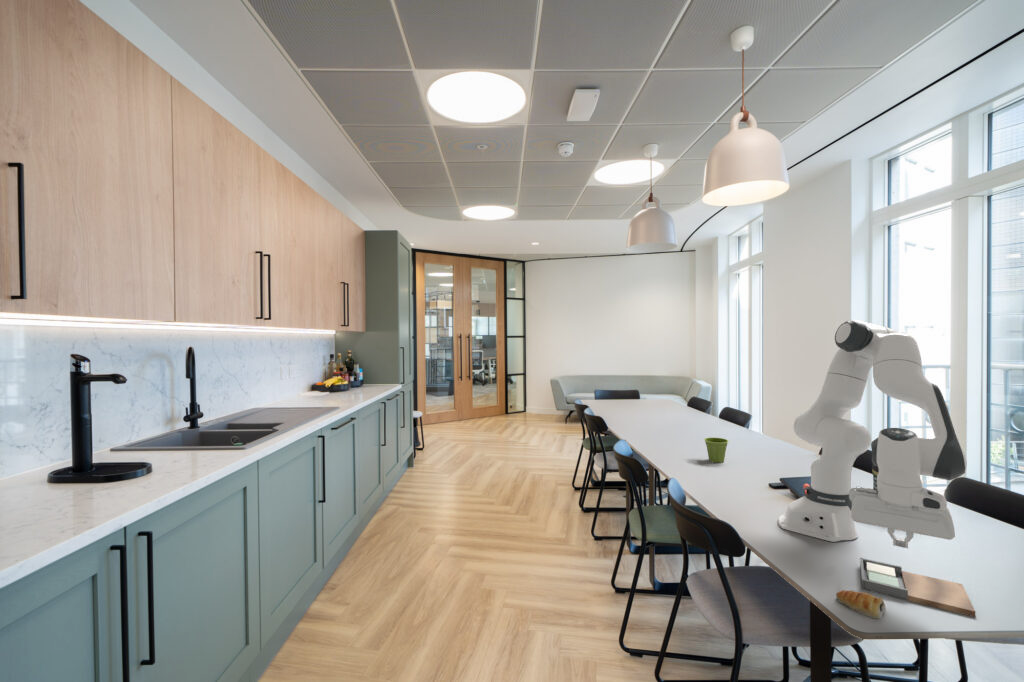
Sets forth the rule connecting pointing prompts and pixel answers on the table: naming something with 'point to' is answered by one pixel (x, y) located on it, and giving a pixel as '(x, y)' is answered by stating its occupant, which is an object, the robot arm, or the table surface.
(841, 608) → the table surface
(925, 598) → the board
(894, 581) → the tile sage
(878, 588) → the tray
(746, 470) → the table surface
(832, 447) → the robot arm
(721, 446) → the plant pot
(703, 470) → the table surface
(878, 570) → the tile cream
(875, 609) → the pastry
